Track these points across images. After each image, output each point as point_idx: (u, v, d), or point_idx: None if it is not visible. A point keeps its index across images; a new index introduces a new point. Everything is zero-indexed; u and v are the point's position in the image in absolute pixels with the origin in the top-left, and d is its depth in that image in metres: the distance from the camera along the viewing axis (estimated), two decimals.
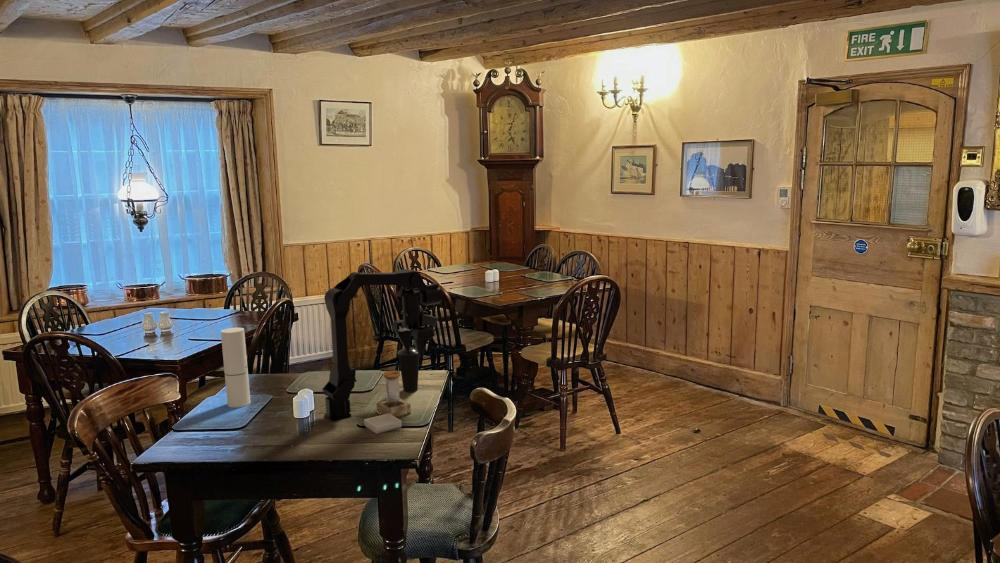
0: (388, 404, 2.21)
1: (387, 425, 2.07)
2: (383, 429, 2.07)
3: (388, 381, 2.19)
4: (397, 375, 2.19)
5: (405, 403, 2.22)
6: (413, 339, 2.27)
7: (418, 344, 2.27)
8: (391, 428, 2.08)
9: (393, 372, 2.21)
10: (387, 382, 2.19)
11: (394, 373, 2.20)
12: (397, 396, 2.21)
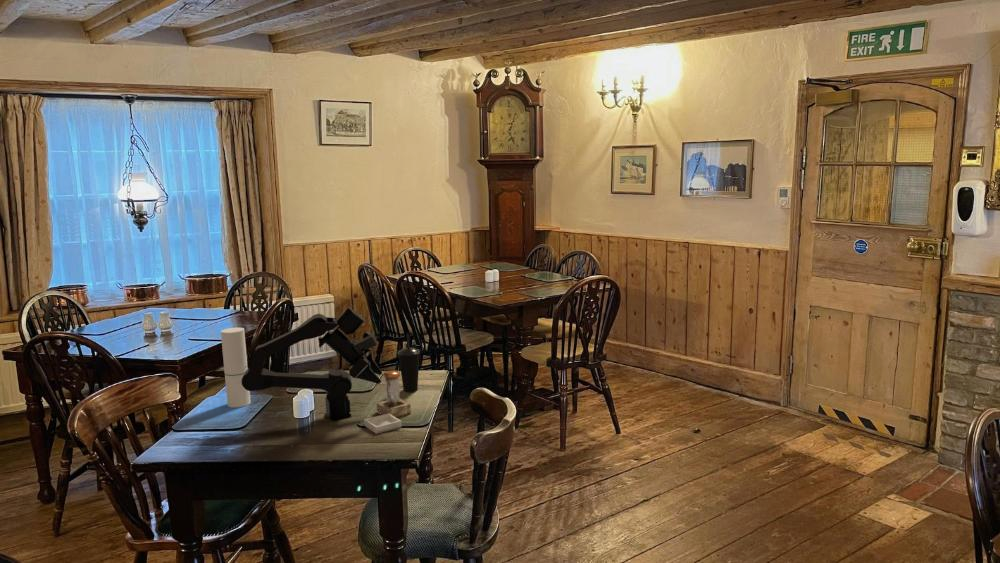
0: (388, 404, 2.21)
1: (387, 425, 2.07)
2: (383, 429, 2.07)
3: (388, 381, 2.19)
4: (397, 375, 2.19)
5: (405, 403, 2.22)
6: None
7: (364, 377, 2.14)
8: (391, 428, 2.08)
9: (393, 372, 2.21)
10: (387, 382, 2.19)
11: (394, 373, 2.20)
12: (397, 396, 2.21)
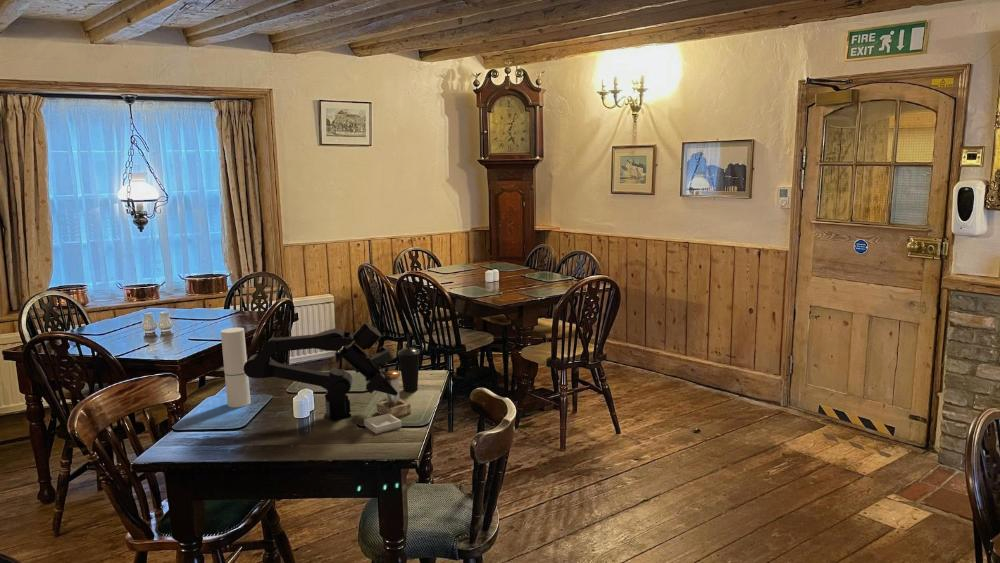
0: (388, 404, 2.21)
1: (387, 425, 2.07)
2: (383, 429, 2.07)
3: (388, 381, 2.19)
4: (397, 375, 2.19)
5: (405, 403, 2.22)
6: None
7: (381, 389, 2.17)
8: (391, 428, 2.08)
9: (393, 372, 2.21)
10: None
11: (394, 373, 2.20)
12: (397, 396, 2.21)
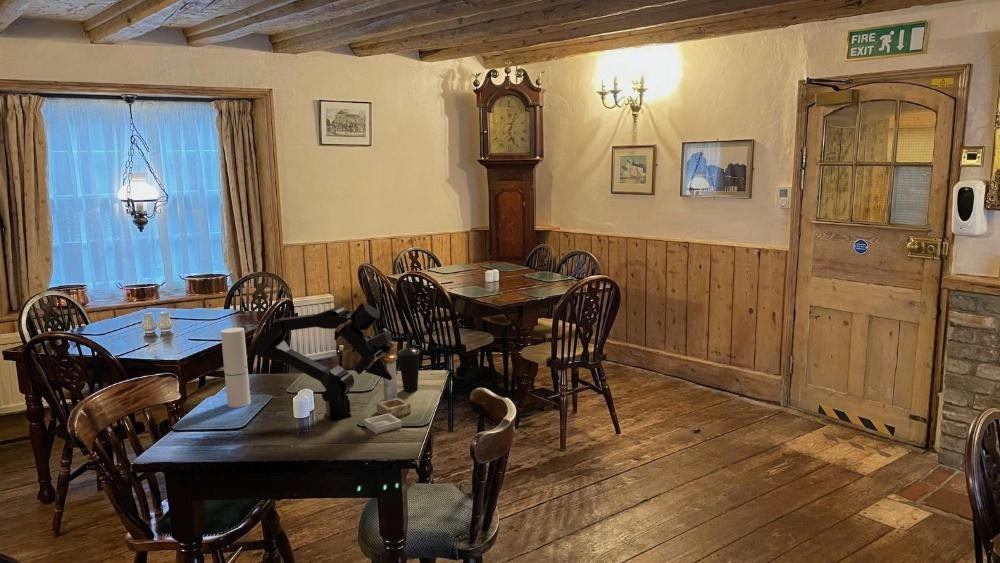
0: (384, 388, 2.14)
1: (387, 425, 2.07)
2: (383, 429, 2.07)
3: (383, 364, 2.13)
4: (392, 359, 2.12)
5: (405, 403, 2.22)
6: None
7: (374, 372, 2.11)
8: (391, 428, 2.08)
9: (390, 356, 2.14)
10: None
11: (390, 357, 2.13)
12: (392, 381, 2.13)
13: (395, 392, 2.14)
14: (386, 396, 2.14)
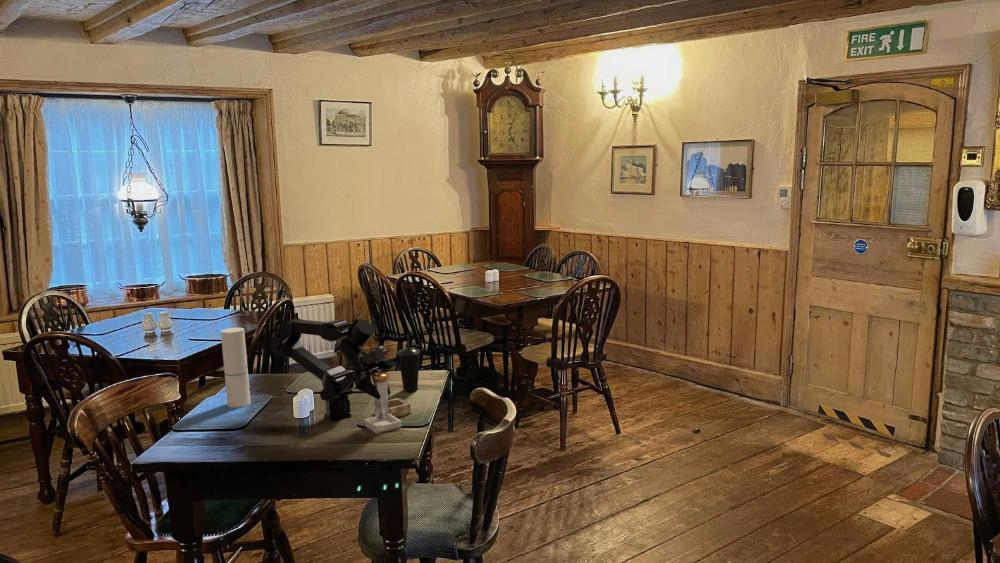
0: None
1: (387, 425, 2.07)
2: (383, 429, 2.07)
3: (374, 383, 2.08)
4: (381, 378, 2.06)
5: (405, 403, 2.22)
6: None
7: (363, 390, 2.08)
8: (391, 428, 2.08)
9: (382, 374, 2.08)
10: None
11: (380, 375, 2.07)
12: (382, 400, 2.08)
13: (384, 412, 2.09)
14: (376, 415, 2.09)
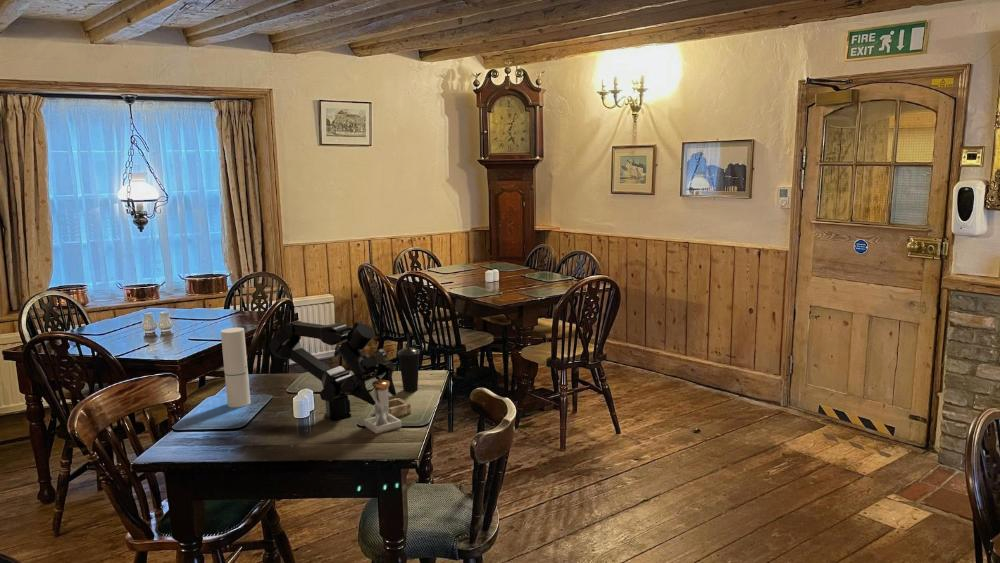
0: (375, 414, 2.10)
1: (387, 425, 2.07)
2: (383, 429, 2.07)
3: (375, 391, 2.08)
4: (381, 386, 2.06)
5: (405, 403, 2.22)
6: None
7: (358, 395, 2.06)
8: (391, 428, 2.08)
9: (383, 382, 2.09)
10: None
11: (381, 383, 2.08)
12: (382, 408, 2.08)
13: (385, 420, 2.09)
14: (377, 423, 2.10)
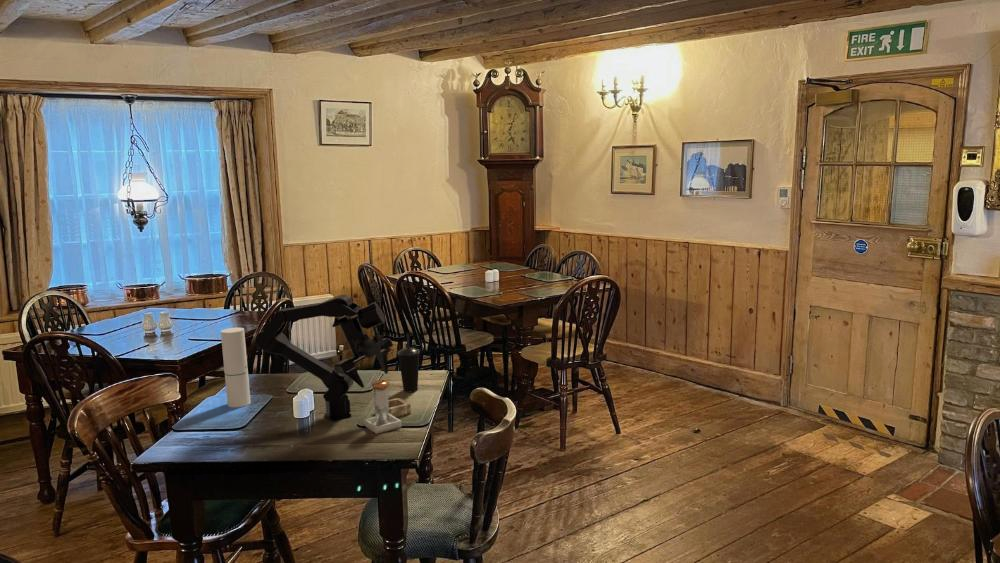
0: (375, 414, 2.10)
1: (387, 425, 2.07)
2: (383, 429, 2.07)
3: (374, 391, 2.08)
4: (381, 386, 2.07)
5: (405, 403, 2.22)
6: None
7: (349, 375, 2.15)
8: (391, 428, 2.08)
9: (382, 382, 2.09)
10: (374, 391, 2.09)
11: (380, 383, 2.08)
12: (382, 408, 2.08)
13: (385, 420, 2.09)
14: (377, 423, 2.10)
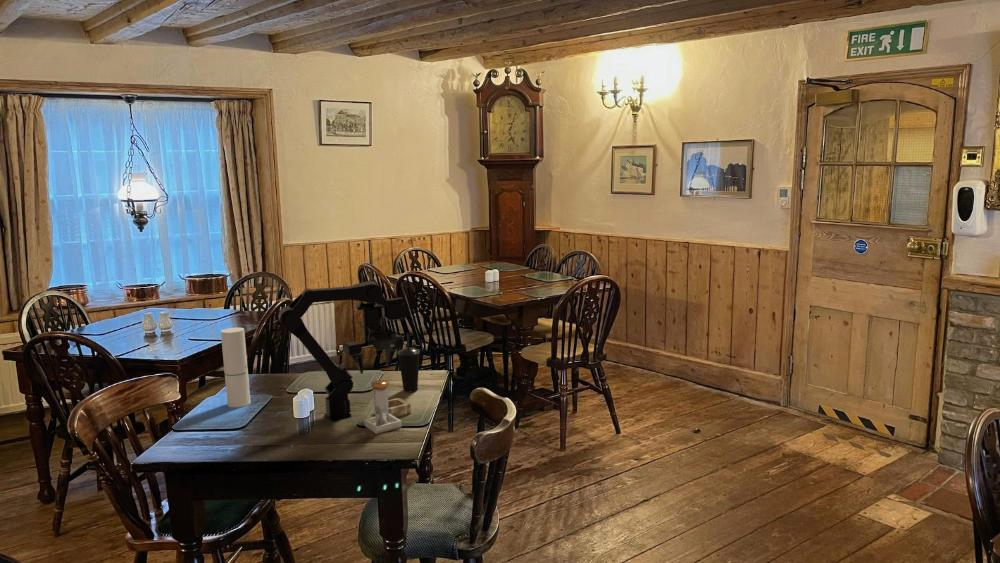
0: (375, 414, 2.10)
1: (387, 425, 2.07)
2: (383, 429, 2.07)
3: (374, 391, 2.08)
4: (381, 386, 2.07)
5: (405, 403, 2.22)
6: None
7: (353, 358, 2.20)
8: (391, 428, 2.08)
9: (382, 382, 2.09)
10: None
11: (380, 383, 2.08)
12: (382, 408, 2.08)
13: (385, 420, 2.09)
14: (376, 423, 2.10)
